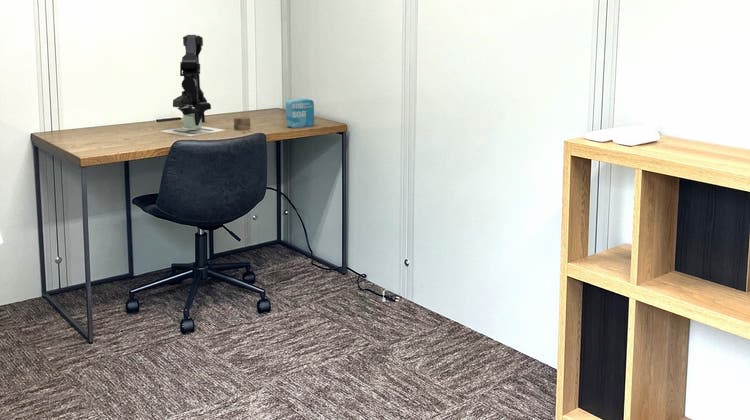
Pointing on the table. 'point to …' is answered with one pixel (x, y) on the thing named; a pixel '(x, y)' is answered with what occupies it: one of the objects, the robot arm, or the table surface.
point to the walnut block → (242, 123)
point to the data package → (300, 113)
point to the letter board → (192, 131)
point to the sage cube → (191, 122)
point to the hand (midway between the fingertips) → (192, 124)
